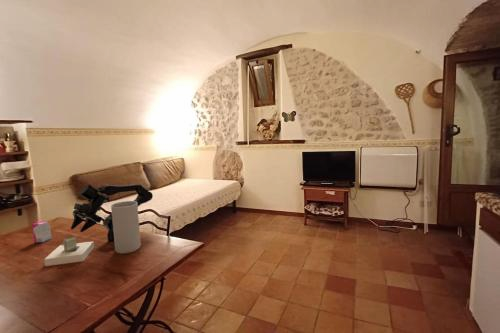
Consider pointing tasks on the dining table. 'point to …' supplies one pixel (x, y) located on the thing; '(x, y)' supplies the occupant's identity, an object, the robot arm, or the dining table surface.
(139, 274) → the dining table surface
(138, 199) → the robot arm
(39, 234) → the supplement box
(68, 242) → the peg
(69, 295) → the dining table surface
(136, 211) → the cylinder vase
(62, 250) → the socket block
